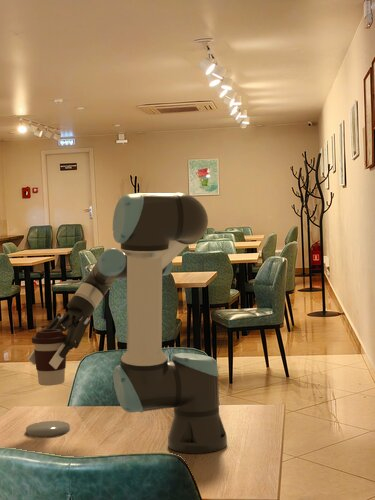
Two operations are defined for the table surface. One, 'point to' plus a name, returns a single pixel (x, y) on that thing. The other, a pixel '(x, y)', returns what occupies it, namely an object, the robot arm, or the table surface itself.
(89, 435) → the table surface
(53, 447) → the table surface
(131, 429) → the table surface
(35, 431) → the slate coaster
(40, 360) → the coffee cup
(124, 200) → the robot arm
